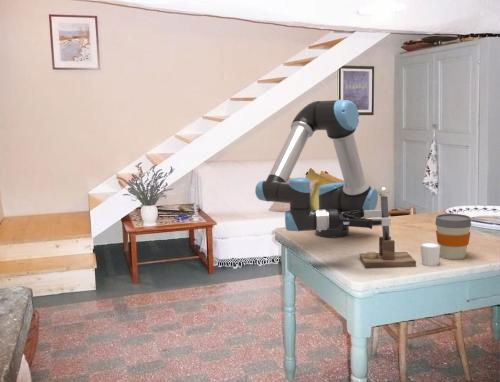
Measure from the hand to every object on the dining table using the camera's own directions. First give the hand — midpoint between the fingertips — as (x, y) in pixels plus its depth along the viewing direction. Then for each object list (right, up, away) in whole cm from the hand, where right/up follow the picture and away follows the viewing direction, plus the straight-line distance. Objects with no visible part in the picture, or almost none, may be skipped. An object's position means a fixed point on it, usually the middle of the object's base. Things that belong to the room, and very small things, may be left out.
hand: (385, 217), depth 192 cm
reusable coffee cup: (+27, -15, +8) cm, 32 cm away
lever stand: (+1, -17, +3) cm, 17 cm away
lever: (+1, -13, +2) cm, 13 cm away
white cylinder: (+16, -17, 0) cm, 23 cm away
